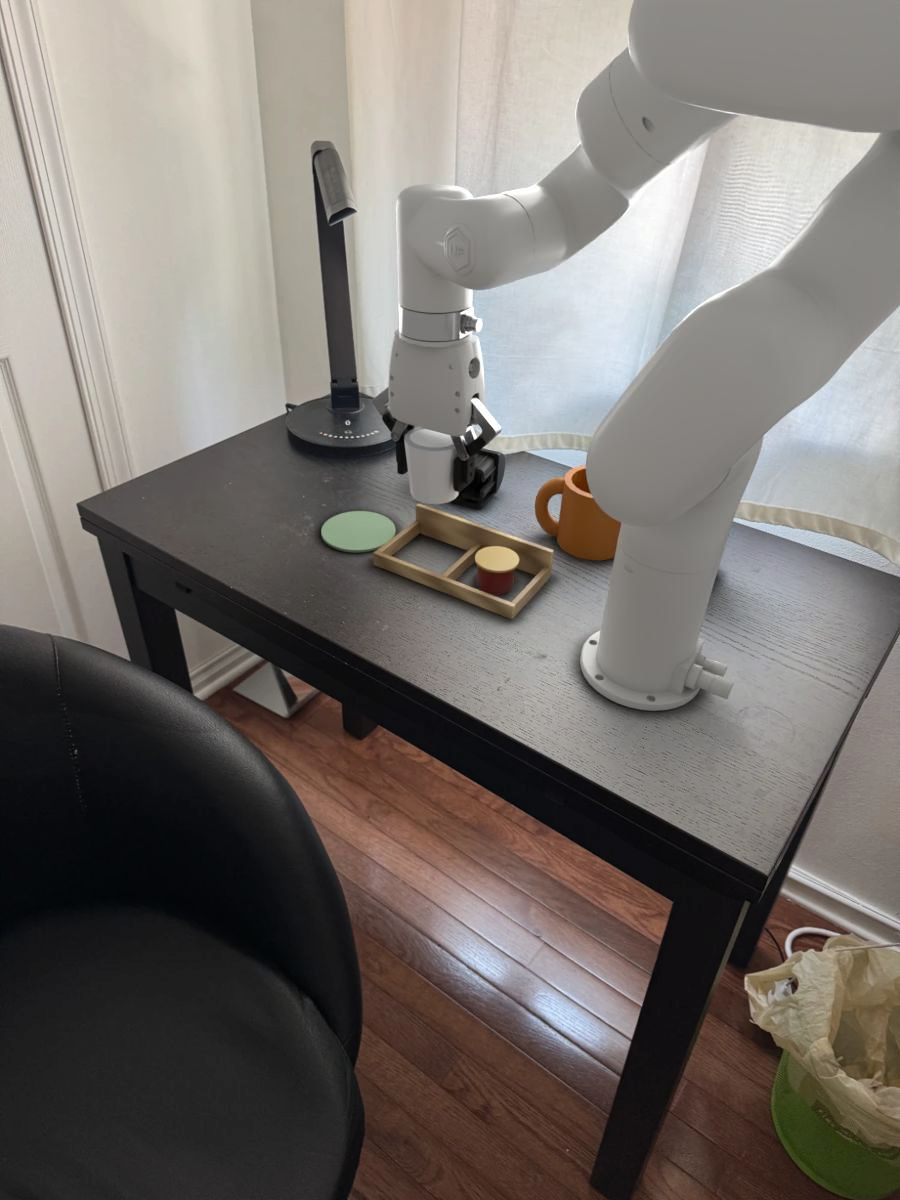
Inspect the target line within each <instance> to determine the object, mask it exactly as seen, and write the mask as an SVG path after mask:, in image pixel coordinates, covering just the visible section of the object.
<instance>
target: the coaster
mask: <svg viewBox="0 0 900 1200" xmlns="http://www.w3.org/2000/svg"><path fill="white" fill-rule="evenodd" d="M320 532H321V533H320V535H321V539H322V540H323V542H324V543H325V544H327V546H329V547H331V548H333V549H335V550H338V551H341V552H345V553H353V554H355V553H356V554H358V553H370V552H375V551H377V550H378V549H379V548H380V547H382V546H383V545H384V544H386V543H387V542H388V541H390V540H391V539H392V538H393V537H395V536H396V535H397V534H396V532H397V531H396V526H395V523H394V522H393V521H392V520H391V519H390V518H389V517H387V516H385V515H383V514H380V513H377V512H373V511H368V510H351V511H346V512H341V513H339V514H336V515H333V516H331V517H330V518H329V519H327V520H326V521H324V523H323V525H322V526H321V530H320Z"/></svg>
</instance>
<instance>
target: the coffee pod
mask: <svg viewBox="0 0 900 1200" xmlns="http://www.w3.org/2000/svg"><path fill="white" fill-rule="evenodd" d="M474 563H475V564H476V566H477V570H476V586H477V587H478V589H479V590H480V591H483V592H486V593H488V594H491V595H503V594H507V593H509V592H510V591H511V590H512V589H513V587H514V583H515V573H516V569H517V568H516V567H517V566H518V564H519V557H518V555H517V554H516V553H515V552H514V551H512V550H511V549H508V548H505V547H500V546H490V547H485V548H483V549H481V550H479V551H478V552H477V553H476V555H475V562H474Z"/></svg>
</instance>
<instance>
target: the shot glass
mask: <svg viewBox="0 0 900 1200" xmlns="http://www.w3.org/2000/svg"><path fill="white" fill-rule="evenodd" d="M463 437H464V436H463ZM464 440H465V438H464ZM404 442H405V451H406V459H407V467H408V472H407V475H408V483H409V492H410V493H409V494H410V496H411V497H412V498H413V499H414V500H416V501H417V502H419V503H423V504H428V505H442V504H447V503H451V502H450V501H452V500H454V499H455V498H456V497H457V496H458V493H459V492H457V491H454V489H453V465H454V459H455V458H457V457H458V454H457V451H456V449H455V446H454V444H453V441H452V439H451V436H450V435H446V434H442V433H439V432H435V431H431V430H428V429H424V428H420V427H414V429H413V430H410V431H409V432H408V433H407V434H405V438H404Z"/></svg>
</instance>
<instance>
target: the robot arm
mask: <svg viewBox="0 0 900 1200" xmlns="http://www.w3.org/2000/svg"><path fill="white" fill-rule="evenodd" d="M627 45H628V46H626V48H624V50H623V51H622V52H621V53H619V55H617V56H616V57H614V59H612V60H611V61H610V63H608V64H607V65H606V67H604V68H603V69H602V70H601V71H600V72H599V73H598V74H597V75H595V76H594V77H593V78H592V79H591V80H590V81H589V82H588V84H586V85H585V86H584V88H583V89H582V90H581V93H580V94H579V97H578V99H577V101H576V107H575V111H574V116H575V119H574V120H575V125H576V130H577V134H578V135H577V136H578V139H579V141H580V142H579V143H578V144H577V145H576V146H575V147H574V149H573V150H572V151H571V152H570V153H569V154H568V155H567V156H566V157H565V158H564V159H563V160H562V161H561V162H559V163H558V164H557V165H556V166H555V167H554V168H553V169H551V170H550V171H549V172H548V173H547V174H545V175H544V176H543V177H542V178H541V179H540V180H539V181H537V182H536V183H535V184H533V185H531V186H529V187H524V188H518V189H513V190H507V191H503V192H497V193H493V194H489V195H484V196H483V195H482V196H478V197H473V194H472V193H471V192H470V191H469V190H468V189H466V188H464V187H461V186H458V185H454V184H444V183H427V184H426V183H425V184H424V183H423V184H422V183H421V184H415V185H411V186H407V187H406V188H404V189H402V190H401V192H400V193H399V194H398V196H397V199H396V203H395V204H396V205H395V225H396V226H395V227H396V228H395V229H396V233H395V234H396V271H397V272H396V273H397V318H398V319H397V320H398V321H397V323H398V328H397V329H396V330H395V331H394V333H393V338H392V342H391V350H390V357H389V366H388V367H389V369H388V386H387V387H386V388H385V389H384V390H382V391H381V392H380V393H378V394H377V395H376V396H375V397H373V399H372V405H373V406H374V407H375V409H376V410H377V412H378V414H379V416H381V419H382V422H383V423H384V425H385V427H387V429H388V431H389V432H390V438H391V440H392V441H394V442H395V460H396V467H397V468H396V469H397V471H396V472H397V474H398V475H405V474H408V467H407V459H406V451H405V442H404V438H405V434H407V433H408V432H409V431H410V430H413V429H415V428H418V427H420V428H424V429H428V430H431V431H435V432H439V433H442V434H446V435H450V436H451V439H452V441H453V444H454V446H455V449H456V451H457V454H458V457H457V458H455V459H454V465H453V489H454V491H457V492H460V491H461V490H463V489H464V488H465V487H466V486H468V485H469V484H470V483H471V482H472V481H473V479H474V472H475V453H477V452H478V451H479V450H481V449H482V448H485V447H486V446H488V445H489V444H490V443H491V442H492V441H494V440H495V438H496V437H497V436H498V435H499V434H501V432H502V427H501V425H500V424H499V423H498V421H497V420H496V419H495V418H494V416H493V415H492V414H491V413H490V411H489V410H488V409H487V408H486V389H485V388H486V385H485V382H486V381H485V369H484V359H483V353H482V348H481V342H480V338H479V336H478V335H475V334H473V333H474V332H475V333H480V332H481V331H482V328H483V320H482V318H480V317H477V316H476V315H474V309H475V308H474V306H473V299H474V297H473V295H474V294H473V293H474V291H486V290H491V289H494V288H498V287H501V286H504V285H507V284H510V283H513V282H516V281H519V280H523V279H526V278H529V277H532V276H537V275H539V274H542V273H546V272H549V271H550V270H554V269H555V268H557V267H559V266H560V265H562V264H564V263H565V262H567V261H568V260H569V259H571V258H573V257H574V256H576V254H578V253H579V252H581V251H582V250H583V249H585V248H586V247H587V246H588V245H590V244H591V243H592V242H594V241H596V240H597V239H598V238H599V237H601V236H603V234H604V233H606V232H607V231H609V230H610V229H611V228H612V227H613V226H614V225H615V224H616V223H618V222H619V221H620V220H621V219H622V218H623V217H624V216H625V215H626V214H627V213H628V212H629V210H631V208H632V207H633V206H634V204H635V203H636V202H637V201H638V200H639V199H640V198H641V196H642V195H643V193H644V192H645V190H646V189H647V188H648V187H649V186H650V185H651V184H652V183H654V182H655V181H657V179H659V178H660V177H662V176H663V175H664V174H665V173H667V172H668V171H669V170H670V169H672V168H673V167H674V166H675V165H677V164H678V163H679V162H681V161H682V160H683V159H684V158H686V157H687V156H688V155H689V154H691V153H692V152H693V151H695V150H696V149H697V148H699V147H700V146H701V145H703V144H704V143H706V142H707V141H708V140H709V139H710V138H712V137H713V136H714V135H716V134H717V133H718V132H720V131H721V130H722V129H724V128H725V127H726V126H727V125H729V124H731V122H733V121H734V120H735V119H737V118H738V117H739V116H745V117H752V118H759V119H766V120H773V121H777V122H784V123H789V124H790V123H791V124H797V125H802V126H807V127H808V126H810V127H815V128H821V129H826V130H827V129H828V130H832V131H840V132H848V133H863V134H864V133H865V134H866V133H867V134H868V133H869V134H878V136H877V138H876V139H875V140H874V142H873V144H872V145H871V146H870V148H869V149H868V150H867V152H866V153H865V155H863V157H862V158H861V159H860V160H859V162H858V163H857V164H855V165H854V167H852V169H850V171H849V172H847V174H845V176H843V178H842V179H841V180H840V181H839V182H838V183H837V184H836V185H835V186H834V188H832V190H831V191H830V192H829V193H828V194H827V196H826V197H825V198H824V199H823V200H822V201H821V203H820V204H819V205H818V207H817V208H816V209H815V211H814V212H813V213H812V214H811V216H810V218H809V219H808V220H807V221H806V223H805V224H804V225H803V226H802V227H801V228H800V230H799V231H798V232H797V233H796V234H795V235H794V237H793V238H791V240H790V241H789V242H788V244H786V245H785V247H784V248H783V249H782V250H781V251H780V253H779V254H778V255H777V256H776V257H775V258H774V259H773V260H772V261H771V262H770V263H768V265H767V266H766V267H765V268H764V269H762V270H761V271H760V272H758V273H757V274H755V275H754V276H752V277H750V278H748V279H747V280H745V281H743V282H741V283H739V284H736V285H734V286H732V287H730V288H728V289H725V290H724V291H721V292H719V293H717V294H715V295H714V296H711V297H709V298H708V299H706V300H705V301H704V302H702V303H700V304H699V305H698V306H696V307H695V308H693V309H692V310H691V311H690V312H689V313H688V314H687V315H686V316H685V317H684V318H683V319H682V320H681V321H680V322H678V324H676V326H675V327H674V328H673V329H672V330H671V331H670V333H669V334H668V335H666V337H665V338H664V340H663V341H662V342H661V344H659V346H658V347H657V349H656V350H655V351H654V353H653V354H652V355H651V356H650V357H649V358H648V360H647V362H646V363H645V364H644V365H643V367H642V368H641V369H640V370H639V372H638V373H637V375H636V376H635V377H634V378H633V379H632V381H631V382H630V384H629V385H628V386H627V387H626V389H625V390H624V391H623V393H622V394H621V396H620V397H619V398H618V399H617V401H615V403H614V404H613V406H612V407H611V408H610V410H609V411H608V412H607V413H606V414H605V416H604V418H603V419H602V420H601V422H600V423H599V425H598V426H597V428H596V429H595V431H594V433H593V435H592V437H591V440H590V442H589V445H588V448H587V452H586V459H585V465H586V477H587V482H588V486H589V489H590V492H591V494H592V496H593V498H594V500H595V502H596V503H597V504H598V506H599V507H600V508H601V509H602V510H603V511H604V512H605V513H606V514H607V515H609V516H610V517H611V518H613V519H615V520H617V521H619V522H621V528H620V533H619V537H618V542H617V547H616V552H615V557H613V563H612V569H611V572H610V573H611V574H610V579H609V584H608V590H607V594H606V595H607V596H606V601H605V605H604V610H603V614H602V615H603V616H602V621H601V625H600V626H601V627H600V629H599V630H598V631H596V632H594V633H592V634H591V635H590V636H589V637H588V638H587V639H586V640H585V642H584V643H583V645H582V648H581V652H580V657H579V664H580V670H581V672H582V674H583V677H584V678H585V680H586V681H587V683H588V684H589V685H590V686H591V687H592V688H593V689H594V690H595V691H596V692H597V693H599V694H600V695H602V696H603V697H604V698H607V699H608V700H609V701H612V702H614V703H616V704H619V705H621V706H624V707H627V708H630V709H636V710H640V711H651V712H657V711H668V710H672V709H676V708H679V707H681V706H684V705H686V704H688V703H689V702H691V701H692V700H693V699H694V698H695V697H696V696H697V695H698V693H699V691H700V690H704V691H707V692H709V694H712V695H714V696H716V697H719V698H722V699H724V700H728V699H729V697H730V695H731V692H732V691H733V686H734V683H735V680H732V679H730V678H727V677H725V675H726V673H727V670H728V668H729V665H728V664H726V663H723V662H722V661H719V660H713V659H711V658H709V657H707V654H705V653H703V652H702V650H703V647H704V644H705V639H704V638H702V637H700V633H701V631H702V626H703V622H704V619H705V616H706V612H707V609H708V605H709V601H710V599H711V595H712V593H713V592H712V591H713V588H714V586H715V585H714V584H715V582H716V578H717V575H718V573H717V571H719V569H718V567H719V568H720V565H721V562H722V559H723V555H724V551H725V549H726V545H727V542H728V538H729V535H730V532H731V528H732V525H733V522H734V520H735V516H736V514H737V511H738V509H739V505H740V503H741V500H742V498H743V496H744V493H745V492H746V489H747V486H748V484H749V482H750V481H751V478H752V475H753V473H754V471H755V468H756V465H757V463H758V459H759V458H760V455H761V450H762V447H763V443H764V442H763V441H764V437H765V435H766V434H767V433H768V432H769V431H770V430H771V429H772V428H773V427H775V426H776V425H777V424H778V423H779V422H780V421H781V420H782V419H783V418H785V417H786V416H787V415H789V414H790V413H791V412H792V411H794V410H795V409H796V408H798V407H799V406H800V405H802V404H803V403H805V402H806V401H808V400H809V399H810V398H812V397H813V396H814V395H815V394H816V393H818V392H819V391H820V390H821V389H822V388H823V387H825V386H826V385H827V384H828V383H829V381H830V380H831V379H833V377H834V376H835V375H836V374H837V372H838V371H839V370H840V369H841V368H842V367H843V365H844V364H845V363H846V362H847V360H849V358H850V357H851V356H852V355H853V354H854V352H855V351H856V350H857V349H858V348H860V346H861V345H862V344H863V343H864V342H865V341H866V340H867V339H868V338H869V337H870V336H871V335H872V334H873V333H874V332H875V331H876V330H877V329H878V328H879V327H880V326H881V325H882V324H883V323H884V322H885V321H886V320H887V319H889V318H890V316H892V314H893V313H894V312H896V310H897V309H898V308H899V307H900V0H633V2H632V4H631V8H630V13H629V18H628V24H627ZM477 425H478V426H479V428H480V430H481V433H480V434H479V435H478V436H477V434H476V433H475V430H474V427H473V426H477ZM463 436H464V437H463ZM464 438H465V440H464ZM466 444H467V445H466ZM720 561H721V562H720ZM719 564H720V565H719ZM716 574H717V575H716Z"/></svg>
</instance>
